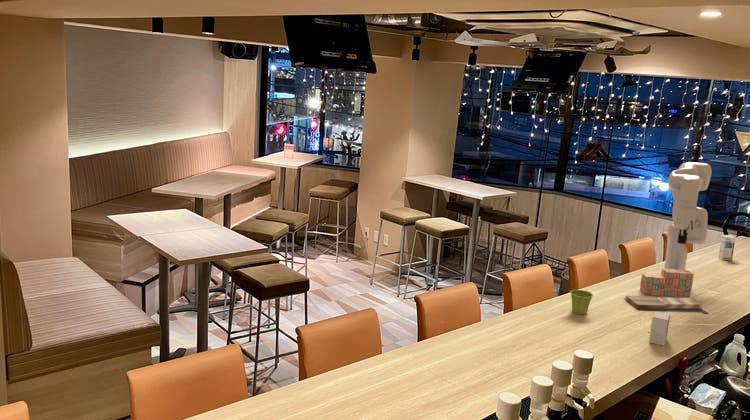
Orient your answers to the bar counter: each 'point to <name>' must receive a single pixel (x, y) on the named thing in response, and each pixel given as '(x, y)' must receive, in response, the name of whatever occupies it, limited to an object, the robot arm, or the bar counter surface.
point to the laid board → (646, 302)
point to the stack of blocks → (668, 283)
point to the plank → (679, 303)
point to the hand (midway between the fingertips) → (681, 243)
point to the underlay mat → (676, 310)
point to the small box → (659, 328)
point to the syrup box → (726, 247)
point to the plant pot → (580, 301)
